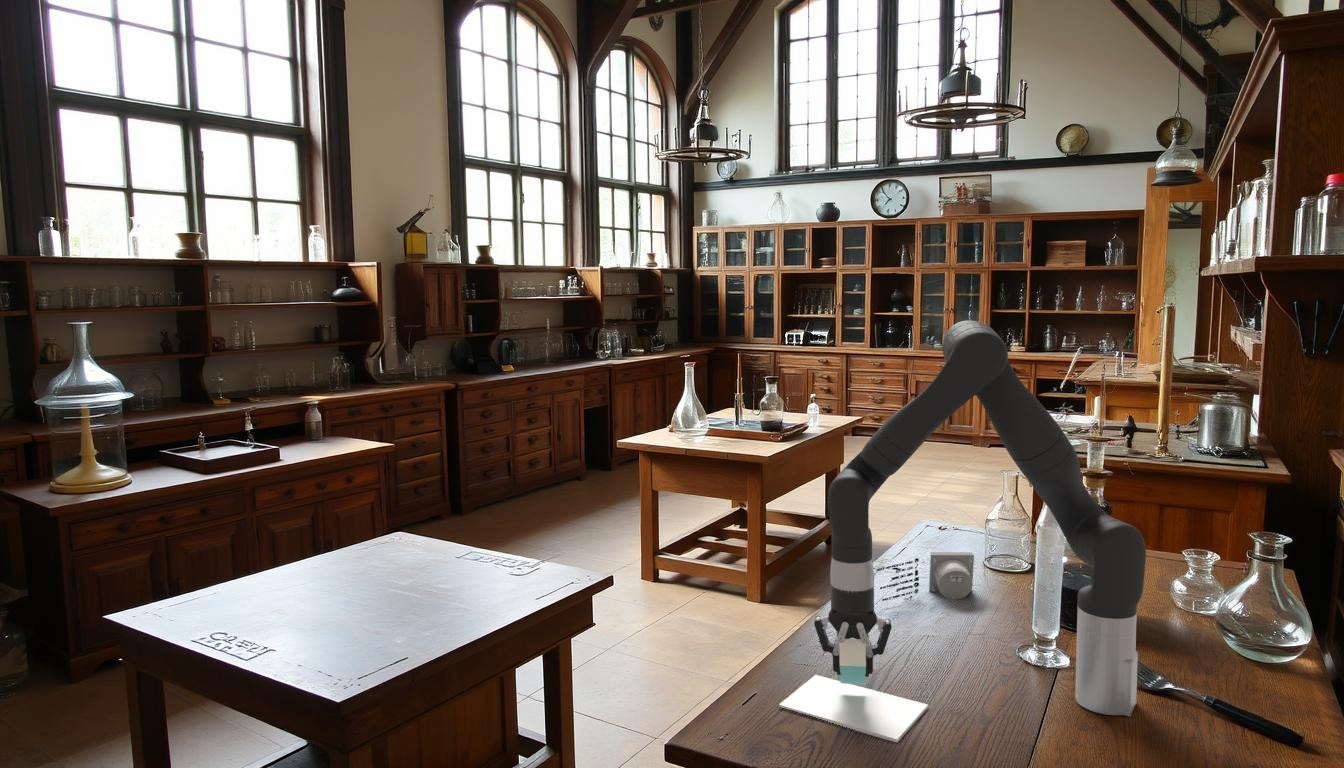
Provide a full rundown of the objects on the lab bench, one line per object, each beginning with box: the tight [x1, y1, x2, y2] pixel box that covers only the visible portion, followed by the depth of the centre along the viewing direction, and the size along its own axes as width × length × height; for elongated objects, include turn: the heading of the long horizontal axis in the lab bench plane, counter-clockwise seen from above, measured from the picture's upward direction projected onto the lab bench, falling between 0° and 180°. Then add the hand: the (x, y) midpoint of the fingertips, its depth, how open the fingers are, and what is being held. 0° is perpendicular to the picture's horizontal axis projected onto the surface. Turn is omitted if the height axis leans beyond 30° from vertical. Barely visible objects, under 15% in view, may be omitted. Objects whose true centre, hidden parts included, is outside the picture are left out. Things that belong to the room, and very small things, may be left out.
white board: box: [778, 674, 929, 744], centre depth 156 cm, size 22×14×1 cm, turn 54°
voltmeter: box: [876, 551, 975, 602], centre depth 205 cm, size 27×11×10 cm, turn 118°
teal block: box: [839, 638, 867, 686], centre depth 158 cm, size 4×4×10 cm
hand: (853, 673), depth 158 cm, fingers closed on teal block, 4 cm apart
